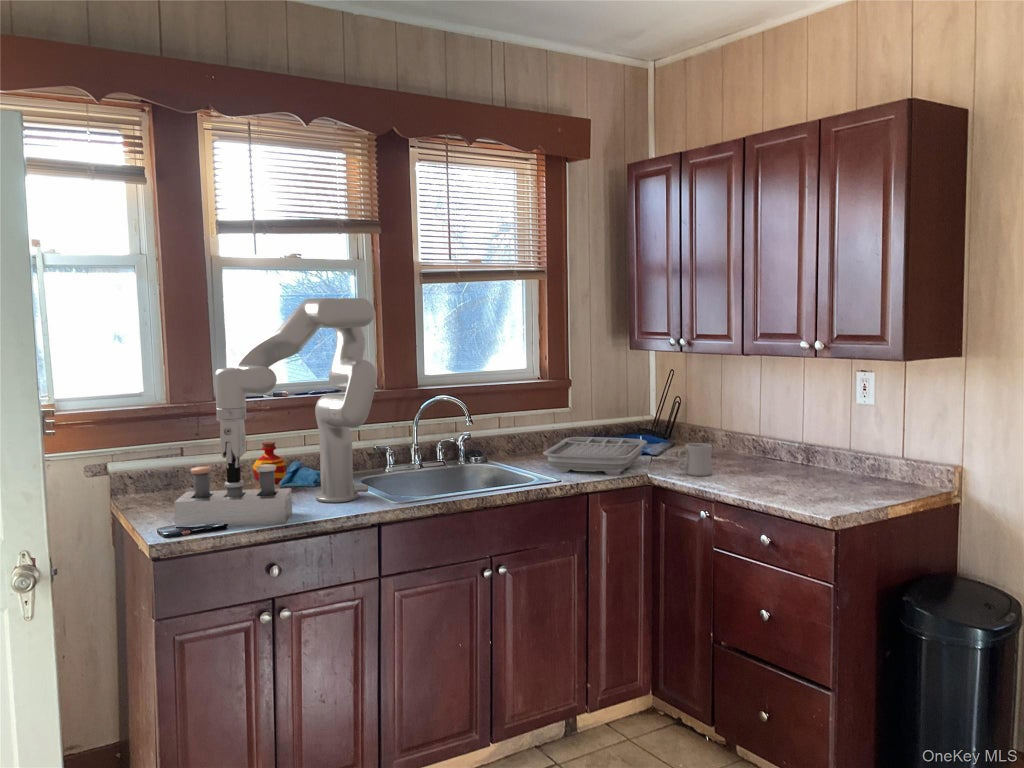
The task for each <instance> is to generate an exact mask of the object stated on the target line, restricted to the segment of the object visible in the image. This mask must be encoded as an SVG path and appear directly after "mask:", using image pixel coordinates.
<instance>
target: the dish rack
mask: <svg viewBox="0 0 1024 768" xmlns="http://www.w3.org/2000/svg"><path fill="white" fill-rule="evenodd" d="M647 444H648V441H647V440H646V439H642V438H641V439H640V438H627V437H626V438H625V437H602V436H601V437H599V436H596V437H595V436H572V437H566V438H563V439H562V440H560V442H558V443H557V444H554V445H553V446H551V447H550V448H548V449H546V450H545V451H543V452H542V454H543V455H544V456H547V466H549V467H552V468H553V469H555V470H557V472H558V473H568V472H569V471H570V470H572V471H577V472H597V471H598V472H604V473H605V474H606V475H607V476H618V475H620V474H621V472H622V471H624V470H626V469H627V468H628V467H630V466H632V465H633V463H634V462H636V460H637V459H639V458H640V457H641V455H642V454H643V447H645V446H646V445H647Z"/></svg>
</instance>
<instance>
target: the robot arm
mask: <svg viewBox="0 0 1024 768" xmlns="http://www.w3.org/2000/svg"><path fill="white" fill-rule="evenodd" d="M374 318H375V307H374V305H373V304H372V303H371V302H370V301H369V300H368V299H366V298H363V297H353V298H351V297H349V298H348V297H347V298H343V297H340V298H338V297H337V298H335V297H334V298H331V297H320V298H319V297H316V298H315V297H314V298H313V297H312V298H307V299H304V300H303V301H302V302H301V303H300V304H299V305H298V306H297V307H296V308H295V310H294V311H293V312H292V313H291V314H290V315H289V316H288V318H287V319H286V320H285V321H284V322H283V323H282V324H281V325H280V327H279V328H278V329H277V330H276V331H275V332H274V333H272V334H271V335H269V336H268V337H266V338H265V339H264V340H262V341H260V343H258V344H256V345H254V347H252V348H251V349H250V350H249V351H248V352H247V353H246V354H245V355H244V356H243V357H242V358H241V359H240V361H238V363H237V364H236V365H235V366H234V367H222V368H218V369H217V370H216V371H215V373H214V384H215V409H216V411H215V412H216V414H215V415H216V421H217V422H220V426H219V427H220V428H219V429H220V431H219V432H220V433H219V435H220V439H219V441H220V453H221V457H222V458H223V459H225V460H226V461H225V462H226V464H225V465H226V481H227V482H228V483H238V482H240V481H241V480H242V475H241V466H240V465H241V457H243V455H245V454H246V453H247V448H248V447H247V437H246V427H245V426H246V425H245V420H247V403H246V402H247V400H246V399H247V398H246V397H247V396H246V395H247V394H257V395H258V394H260V395H261V394H263V395H264V394H267V393H269V392H271V391H272V390H274V388H275V387H276V385H277V375H276V373H275V372H274V370H272V369H271V368H270V367H271V366H272V365H275V364H277V363H278V362H280V361H282V360H284V359H288V358H291V357H293V356H295V355H297V354H298V353H300V352H301V351H302V350H303V349H304V347H305V346H306V345H307V343H308V342H309V341H310V340H311V339H312V338H313V337H314V335H315V334H316V333H317V331H318V330H320V329H334V331H335V335H336V344H335V345H336V346H335V350H334V354H333V356H332V357H333V358H332V361H331V366H330V369H329V374H328V381H329V383H330V385H331V387H333V388H335V389H336V390H337V389H338V390H343V391H345V393H338V392H337V393H336V392H331V393H326V394H323V395H322V396H321V397H319V399H318V400H317V401H316V405H315V408H314V411H315V420H316V423H317V428H318V437H319V438H318V439H319V440H318V441H319V468H320V492H319V493H317V494H315V500H316V501H317V502H318V501H319V502H320V503H321V502H322V503H331V504H332V503H333V504H334V503H345V502H350V501H354V500H357V499H358V498H359V497H360V496H359V493H361V492H362V493H369V485H366V484H357V483H355V482H356V481H355V480H354V471H353V470H354V469H353V468H354V466H353V462H354V460H353V438H352V432H351V430H350V429H356V428H359V427H361V426H362V425H363V424H364V423H366V420H367V419H368V417H369V414H370V411H371V407H372V404H373V403H372V402H373V399H374V395H375V391H376V388H377V382H378V374H377V370H376V368H375V367H376V366H375V365H374V364H373V363H372V362H371V361H369V360H366V359H364V354H365V351H366V350H365V349H366V338H365V334H364V332H363V329H362V328H364V327H365V328H366V327H367V326H368V325H370V324H371V323H372V321H374Z"/></svg>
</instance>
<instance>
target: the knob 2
mask: <svg viewBox="0 0 1024 768" xmlns="http://www.w3.org/2000/svg"><path fill="white" fill-rule="evenodd" d="M274 470H276V465H260V466H257V471H259V482H258V485H259V490H260V496H273V495H275V478H274Z"/></svg>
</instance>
